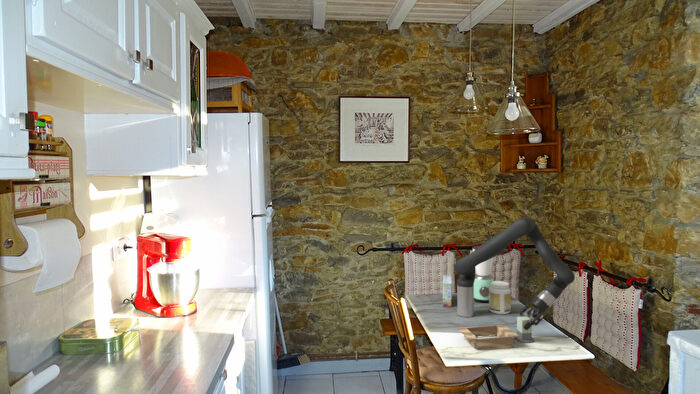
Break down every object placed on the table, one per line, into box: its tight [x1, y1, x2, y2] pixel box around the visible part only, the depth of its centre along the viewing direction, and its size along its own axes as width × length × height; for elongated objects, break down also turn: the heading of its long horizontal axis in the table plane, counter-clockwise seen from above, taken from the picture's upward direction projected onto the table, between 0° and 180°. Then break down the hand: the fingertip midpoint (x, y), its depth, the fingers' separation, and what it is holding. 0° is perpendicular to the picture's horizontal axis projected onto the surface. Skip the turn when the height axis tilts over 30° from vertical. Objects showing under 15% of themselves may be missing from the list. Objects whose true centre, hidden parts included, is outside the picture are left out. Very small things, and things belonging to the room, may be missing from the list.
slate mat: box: [513, 337, 535, 344], centre depth 214 cm, size 9×9×1 cm
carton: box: [457, 324, 520, 351], centre depth 212 cm, size 16×25×5 cm, turn 97°
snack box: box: [442, 275, 453, 308], centre depth 276 cm, size 21×6×15 cm, turn 168°
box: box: [516, 316, 533, 340], centre depth 214 cm, size 5×5×10 cm
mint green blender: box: [472, 245, 495, 303], centre depth 279 cm, size 19×13×35 cm
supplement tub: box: [488, 280, 512, 315], centre depth 257 cm, size 12×12×17 cm
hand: (521, 326), depth 214 cm, fingers open, 6 cm apart
